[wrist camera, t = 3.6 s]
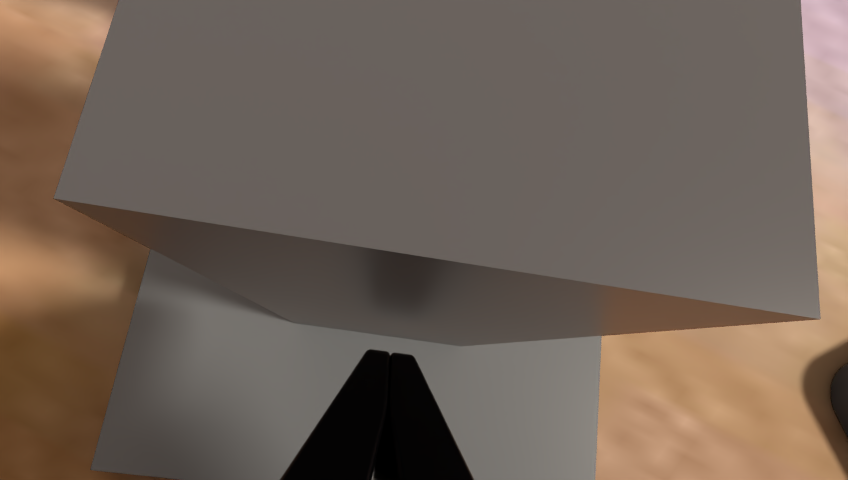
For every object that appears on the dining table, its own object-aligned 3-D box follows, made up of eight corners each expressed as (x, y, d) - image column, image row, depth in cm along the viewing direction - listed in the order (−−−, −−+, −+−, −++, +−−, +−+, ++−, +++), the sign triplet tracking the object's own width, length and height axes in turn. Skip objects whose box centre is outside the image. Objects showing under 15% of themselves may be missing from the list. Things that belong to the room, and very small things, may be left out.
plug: (460, 346, 15) (820, 319, 3) (294, 323, 14) (54, 199, 3) (481, 163, 16) (782, -294, 5) (330, 136, 16) (265, -443, 4)
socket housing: (581, 515, 15) (866, 717, 7) (105, 463, 14) (-294, 637, 5) (606, -6, 20) (795, -276, 11) (251, -84, 18) (161, -459, 10)
